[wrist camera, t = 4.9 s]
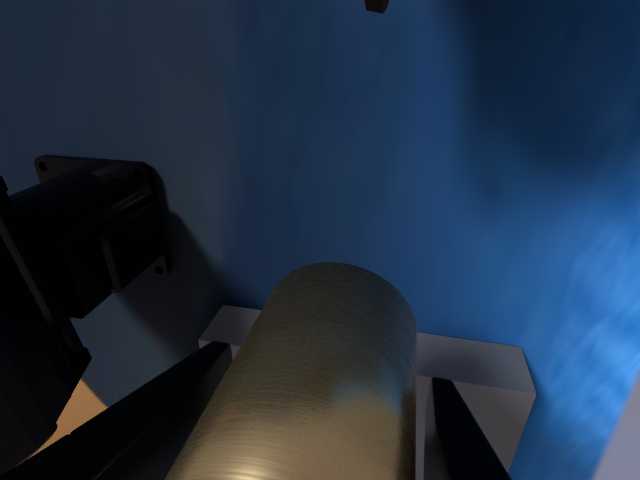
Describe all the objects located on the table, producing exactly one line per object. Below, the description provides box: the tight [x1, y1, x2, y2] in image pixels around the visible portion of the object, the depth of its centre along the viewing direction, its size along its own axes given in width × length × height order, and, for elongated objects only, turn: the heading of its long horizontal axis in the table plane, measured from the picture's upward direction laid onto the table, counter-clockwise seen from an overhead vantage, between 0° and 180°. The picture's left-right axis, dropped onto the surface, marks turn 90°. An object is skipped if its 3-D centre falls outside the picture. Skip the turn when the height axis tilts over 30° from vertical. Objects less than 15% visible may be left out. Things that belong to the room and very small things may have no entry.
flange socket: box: [198, 305, 537, 480], centre depth 23 cm, size 16×14×3 cm
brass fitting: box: [164, 262, 417, 480], centre depth 7 cm, size 5×5×7 cm
